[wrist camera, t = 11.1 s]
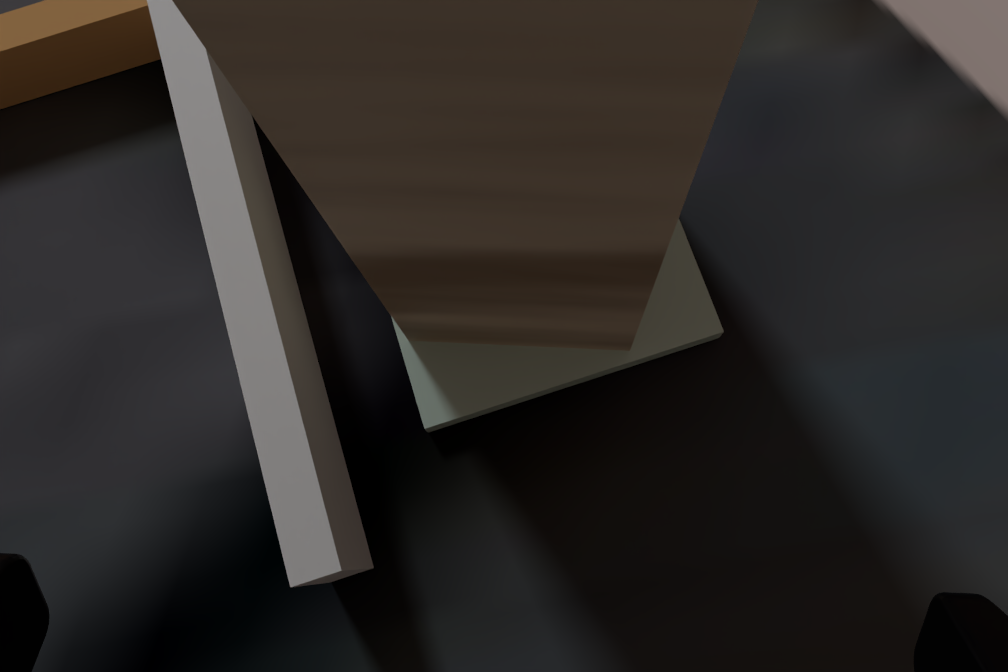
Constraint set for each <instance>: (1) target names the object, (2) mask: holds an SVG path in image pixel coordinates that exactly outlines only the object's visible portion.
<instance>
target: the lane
mask: <svg viewBox="0 0 1008 672" xmlns="http://www.w3.org/2000/svg"><path fill="white" fill-rule="evenodd" d="M147 3H148V7H149V11H150V15H151V19H152V24H153V28H154V32H155V36H156V40H157V44H158V48H159V52H160V56H161V60H162V64H163V69H164V73H165V77H166V81H167V85H168V89H169V93H170V97H171V101H172V105H173V109H174V114H175V118H176V122H177V126H178V130H179V134H180V138H181V142H182V146H183V150H184V154H185V159H186V163H187V167H188V171H189V175H190V179H191V183H192V187H193V191H194V195H195V199H196V203H197V208H198V212H199V216H200V220H201V224H202V228H203V232H204V236H205V240H206V244H207V248H208V253H209V257H210V261H211V265H212V269H213V273H214V277H215V281H216V285H217V289H218V293H219V298H220V302H221V306H222V310H223V314H224V318H225V322H226V326H227V330H228V334H229V338H230V343H231V347H232V351H233V355H234V359H235V363H236V367H237V371H238V375H239V379H240V383H241V388H242V392H243V396H244V400H245V404H246V408H247V412H248V416H249V420H250V424H251V428H252V432H253V437H254V441H255V445H256V449H257V453H258V457H259V461H260V465H261V469H262V473H263V477H264V482H265V486H266V490H267V494H268V498H269V502H270V506H271V510H272V514H273V518H274V522H275V527H276V531H277V535H278V539H279V543H280V547H281V551H282V555H283V559H284V563H285V567H286V572H287V576H288V580H289V584H290V587H298V586H305V585H313V584H321V583H328V582H333V581H336V580H339V579H342V578H345V577H348V576H351V575H354V574H357V573H360V572H363V571H366V570H369V569H372V568H374V566H373V563H372V559H371V555H370V552H369V548H368V544H367V540H366V537H365V533H364V529H363V526H362V522H361V518H360V515H359V511H358V507H357V503H356V500H355V496H354V492H353V489H352V485H351V481H350V478H349V474H348V470H347V466H346V463H345V459H344V455H343V452H342V448H341V444H340V440H339V437H338V433H337V429H336V426H335V422H334V418H333V415H332V411H331V407H330V403H329V400H328V396H327V392H326V389H325V385H324V381H323V377H322V374H321V370H320V366H319V363H318V359H317V355H316V352H315V348H314V344H313V340H312V337H311V333H310V329H309V326H308V322H307V318H306V314H305V311H304V307H303V303H302V300H301V296H300V292H299V289H298V285H297V281H296V277H295V274H294V270H293V266H292V263H291V259H290V255H289V252H288V248H287V244H286V240H285V237H284V233H283V229H282V226H281V222H280V218H279V214H278V211H277V207H276V203H275V200H274V196H273V192H272V189H271V185H270V181H269V177H268V174H267V170H266V166H265V163H264V159H263V155H262V151H261V148H260V144H259V140H258V137H257V133H256V129H255V126H254V122H253V118H252V115H251V113H250V112H249V110H248V109H247V108H246V106H245V105H244V103H243V102H242V100H241V99H240V97H239V96H238V95H237V93H236V92H235V90H234V89H233V87H232V86H231V84H230V83H229V82H228V80H227V79H226V77H225V76H224V74H223V73H222V72H221V70H220V69H219V67H218V66H217V64H216V63H215V61H214V60H213V59H212V57H211V56H210V54H209V53H208V51H207V50H206V48H205V47H204V46H203V44H202V43H201V41H200V40H199V38H198V37H197V36H196V34H195V33H194V31H193V30H192V28H191V27H190V25H189V24H188V23H187V21H186V20H185V18H184V17H183V15H182V14H181V12H180V11H179V10H178V8H177V7H176V5H175V4H174V2H173V1H172V0H147Z"/></svg>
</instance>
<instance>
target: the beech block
mask: <svg viewBox="0 0 1008 672" xmlns="http://www.w3.org/2000/svg"><path fill="white" fill-rule="evenodd" d="M172 1H173V2H174V4H175V5H176V7H177V8H178V10H179V11H180V12H181V14H182V15H183V17H184V18H185V20H186V21H187V23H188V24H189V25H190V27H191V28H192V30H193V31H194V33H195V34H196V36H197V37H198V38H199V40H200V41H201V43H202V44H203V46H204V47H205V48H206V50H207V51H208V53H209V54H210V56H211V57H212V59H213V60H214V61H215V63H216V64H217V66H218V67H219V69H220V70H221V72H222V73H223V74H224V76H225V77H226V79H227V80H228V82H229V83H230V84H231V86H232V87H233V89H234V90H235V92H236V93H237V95H238V96H239V97H240V99H241V100H242V102H243V103H244V105H245V106H246V108H247V109H248V110H249V112H250V113H251V115H252V116H253V118H254V119H255V120H256V122H257V123H258V125H259V126H260V128H261V129H262V131H263V132H264V133H265V135H266V136H267V138H268V139H269V141H270V142H271V144H272V145H273V146H274V148H275V149H276V151H277V152H278V154H279V155H280V156H281V158H282V159H283V161H284V162H285V164H286V165H287V167H288V168H289V169H290V171H291V172H292V174H293V175H294V177H295V178H296V180H297V181H298V182H299V184H300V185H301V187H302V188H303V190H304V191H305V192H306V194H307V195H308V197H309V198H310V200H311V201H312V203H313V204H314V205H315V207H316V208H317V210H318V211H319V213H320V214H321V216H322V217H323V218H324V220H325V221H326V223H327V224H328V226H329V227H330V228H331V230H332V231H333V233H334V234H335V236H336V237H337V239H338V240H339V241H340V243H341V244H342V246H343V247H344V249H345V250H346V252H347V253H348V254H349V256H350V257H351V259H352V260H353V262H354V263H355V264H356V266H357V267H358V269H359V270H360V272H361V273H362V275H363V276H364V277H365V279H366V280H367V282H368V283H369V285H370V286H371V287H372V289H373V290H374V292H375V293H376V295H377V296H378V298H379V299H380V300H381V302H382V303H383V305H384V306H385V308H386V309H387V311H388V312H389V313H390V315H391V316H392V318H393V319H394V321H395V322H396V323H397V325H398V326H399V328H400V329H401V331H402V332H403V334H404V335H405V336H406V338H407V339H408V341H428V342H450V343H472V344H493V345H515V346H537V347H559V348H581V349H603V350H625V351H630V349H631V347H632V344H633V341H634V338H635V336H636V333H637V330H638V328H639V325H640V322H641V319H642V317H643V314H644V311H645V308H646V306H647V303H648V300H649V298H650V295H651V292H652V289H653V287H654V284H655V281H656V278H657V276H658V273H659V270H660V267H661V265H662V262H663V259H664V257H665V254H666V251H667V248H668V246H669V243H670V240H671V237H672V235H673V232H674V229H675V227H676V224H677V221H678V218H679V216H680V213H681V210H682V207H683V205H684V202H685V199H686V197H687V194H688V191H689V188H690V186H691V183H692V180H693V177H694V175H695V172H696V169H697V167H698V164H699V161H700V158H701V156H702V153H703V150H704V147H705V145H706V142H707V139H708V137H709V134H710V131H711V128H712V126H713V123H714V120H715V117H716V115H717V112H718V109H719V107H720V104H721V101H722V98H723V96H724V93H725V90H726V87H727V85H728V82H729V79H730V77H731V74H732V71H733V68H734V66H735V63H736V60H737V57H738V55H739V52H740V49H741V47H742V44H743V41H744V38H745V36H746V33H747V30H748V27H749V25H750V22H751V19H752V16H753V14H754V11H755V8H756V6H757V3H758V0H172Z"/></svg>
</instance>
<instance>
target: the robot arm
mask: <svg viewBox="0 0 1008 672" xmlns="http://www.w3.org/2000/svg"><path fill="white" fill-rule="evenodd" d="M48 625H49V609H48V606H47V603H46V601H45V598H44V596H43V594H42V591H41V589H40V586H39V584H38V582H37V579H36V577H35V575H34V572H33V570H32V568H31V565H30V563H29V562H28V560H27V559H26V558H24V557H23V556H22V555H19V554H6V553H0V672H32V669H33V667H34V664H35V662H36V659H37V657H38V654H39V651H40V649H41V646H42V644H43V641H44V639H45V636H46V633H47V630H48ZM914 671H915V672H1008V616H1007V615H1006V614H1005V613H1004V612H1003V611H1002V610H1001V609H999V608H998V607H997V606H996V605H995V604H994V603H993V602H991V601H990V600H989V599H987V598H985V597H984V596H982V595H979V594H971V593H947V592H943V593H938V594H937V595H935V596H934V597H933V599H932V601H931V603H930V605H929V608H928V611H927V614H926V617H925V620H924V623H923V626H922V629H921V632H920V635H919V637H918V640H917V643H916V647H915V651H914Z"/></svg>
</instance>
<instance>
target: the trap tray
mask: <svg viewBox="0 0 1008 672" xmlns="http://www.w3.org/2000/svg"><path fill="white" fill-rule="evenodd" d="M159 59H161V56H160V52H159V48H158V44H157V40H156V36H155V32H154V28H153V24H152V19H151V15H150V11H149V7H148V3H147V0H0V109H3V108H6V107H10V106H13V105H16V104H19V103H22V102H26V101H29V100H32V99H35V98H38V97H41V96H45V95H48V94H51V93H54V92H57V91H61V90H64V89H67V88H70V87H73V86H76V85H80V84H83V83H86V82H89V81H92V80H96V79H99V78H102V77H105V76H108V75H111V74H115V73H118V72H121V71H124V70H127V69H131V68H134V67H137V66H140V65H143V64H146V63H150V62H153V61H156V60H159Z"/></svg>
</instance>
